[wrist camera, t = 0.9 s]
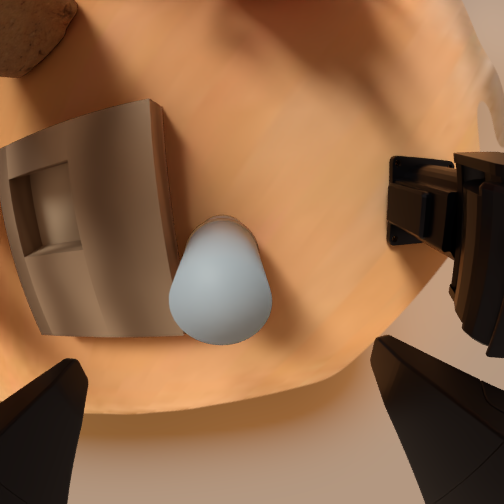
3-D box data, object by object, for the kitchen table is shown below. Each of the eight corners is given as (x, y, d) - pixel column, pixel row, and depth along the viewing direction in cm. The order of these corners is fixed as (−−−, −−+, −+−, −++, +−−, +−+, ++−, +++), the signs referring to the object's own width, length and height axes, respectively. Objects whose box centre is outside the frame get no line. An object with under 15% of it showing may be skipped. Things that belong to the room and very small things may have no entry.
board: (162, 106, 15) (149, 98, 12) (189, 310, 20) (184, 335, 17) (19, 148, 14) (-6, 151, 11) (57, 315, 19) (41, 334, 16)
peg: (252, 206, 17) (272, 248, 10) (256, 267, 19) (275, 341, 11) (186, 212, 17) (157, 259, 10) (195, 273, 19) (178, 349, 11)
